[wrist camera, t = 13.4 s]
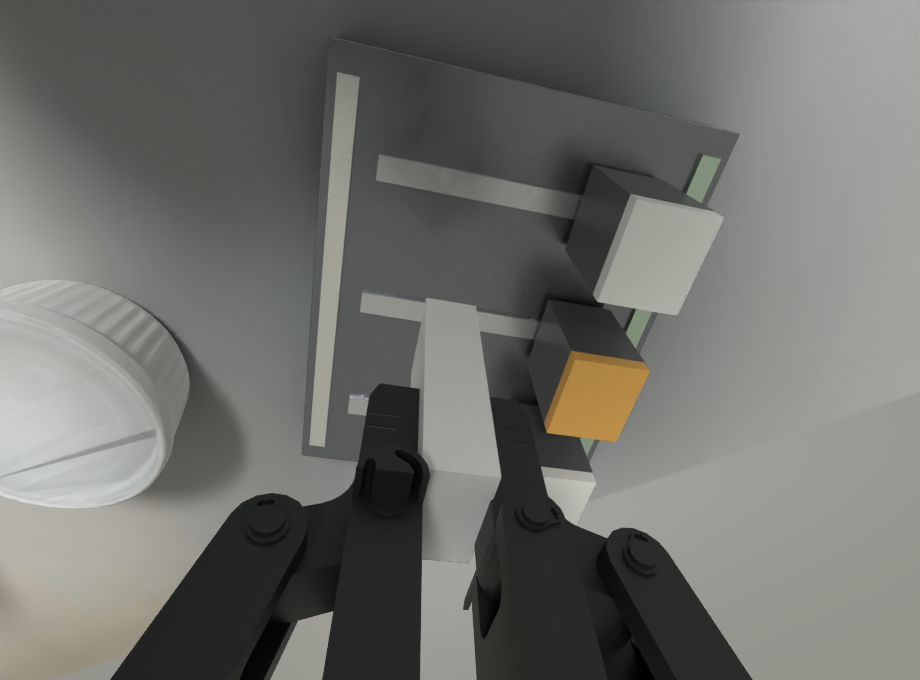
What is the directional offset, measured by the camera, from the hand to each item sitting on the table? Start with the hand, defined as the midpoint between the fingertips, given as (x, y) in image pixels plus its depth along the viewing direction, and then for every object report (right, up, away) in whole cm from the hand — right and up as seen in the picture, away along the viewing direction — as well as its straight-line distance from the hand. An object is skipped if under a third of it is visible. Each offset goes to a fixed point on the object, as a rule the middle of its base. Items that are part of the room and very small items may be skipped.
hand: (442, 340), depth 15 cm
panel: (+2, +2, +10) cm, 10 cm away
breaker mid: (+6, 0, +9) cm, 10 cm away
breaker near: (+7, +5, +6) cm, 10 cm away
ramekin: (-18, -1, +11) cm, 21 cm away
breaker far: (+4, -5, +11) cm, 13 cm away
